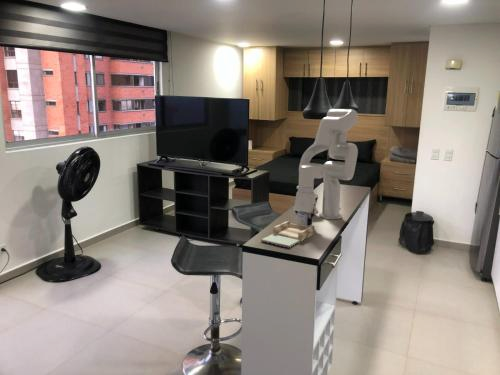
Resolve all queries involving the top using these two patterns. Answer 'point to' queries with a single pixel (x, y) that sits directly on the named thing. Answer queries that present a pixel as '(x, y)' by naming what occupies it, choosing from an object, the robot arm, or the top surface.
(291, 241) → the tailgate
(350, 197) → the top surface
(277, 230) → the beige square tray
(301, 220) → the medicine box
